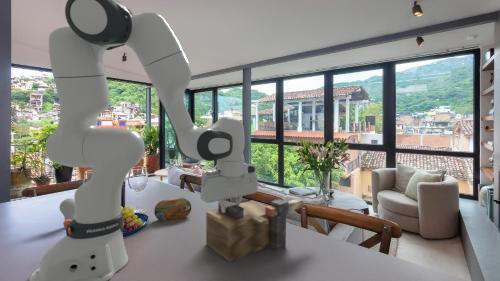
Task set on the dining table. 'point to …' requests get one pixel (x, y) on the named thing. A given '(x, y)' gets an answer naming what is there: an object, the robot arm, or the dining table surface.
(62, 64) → the robot arm
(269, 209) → the light wooden bar
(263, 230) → the toolbox
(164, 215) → the tin
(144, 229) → the dining table surface
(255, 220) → the lid
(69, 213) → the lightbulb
